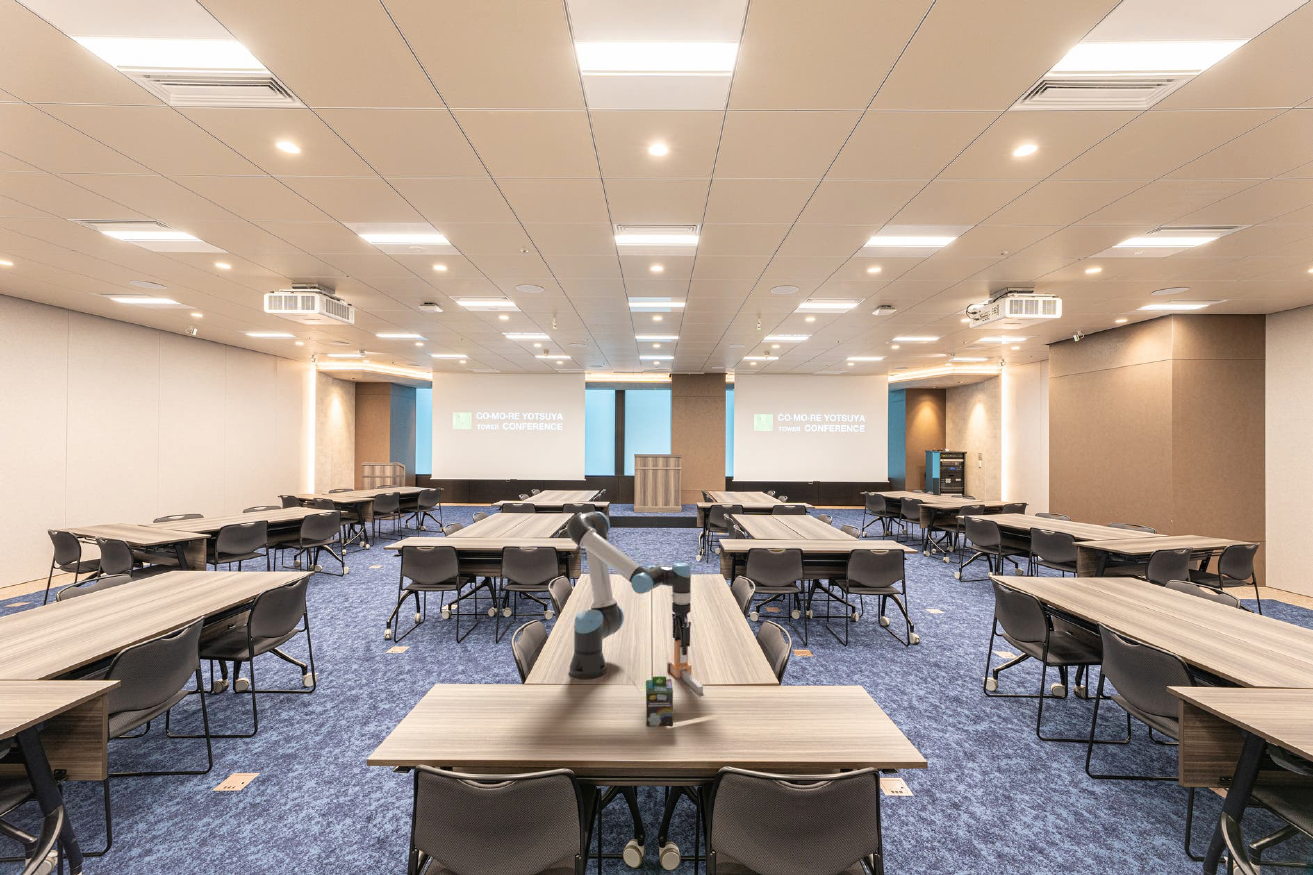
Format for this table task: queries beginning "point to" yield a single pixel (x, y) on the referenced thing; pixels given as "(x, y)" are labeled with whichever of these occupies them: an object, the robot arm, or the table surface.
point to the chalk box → (659, 702)
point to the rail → (689, 680)
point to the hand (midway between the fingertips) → (680, 659)
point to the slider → (676, 665)
